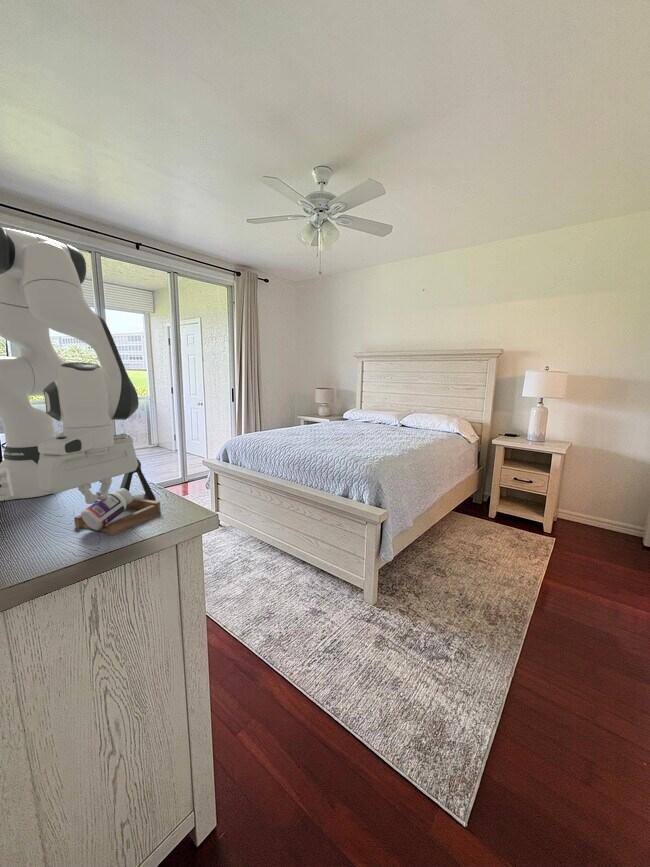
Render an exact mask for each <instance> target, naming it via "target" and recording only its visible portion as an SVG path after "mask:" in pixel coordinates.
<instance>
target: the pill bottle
mask: <svg viewBox="0 0 650 867" xmlns="http://www.w3.org/2000/svg"><path fill="white" fill-rule="evenodd" d="M133 496H134V495H133V494H132V493H131V492H130V490H129V491H128V490H126V489H125V488H121V489H120V488H119V489H118V490H116V491H111V492H108V498H107V499H104V500H98V501H97V502H95V503H93V504H90V505H89V506H88V507H86V508H85V509H84V510H82V511H81V513H80V515H81V516H82V519H83V520H84V522H85V523H86V524H87V525H88V526H89V527H90V528H92V529H91V530H93V529H94V530H95V531H98V530H99V529H101V528H102V527H104V526H105V525H106V524H108V523H109V522H110V521H111V520H113V519H114V518H115V517H117V516H118V515H119V514H121V513H122V512H123V511H124V510H125V509H126V505H128V504H129V503H130V502H132V501H133ZM94 530H93V531H94Z"/></svg>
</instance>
